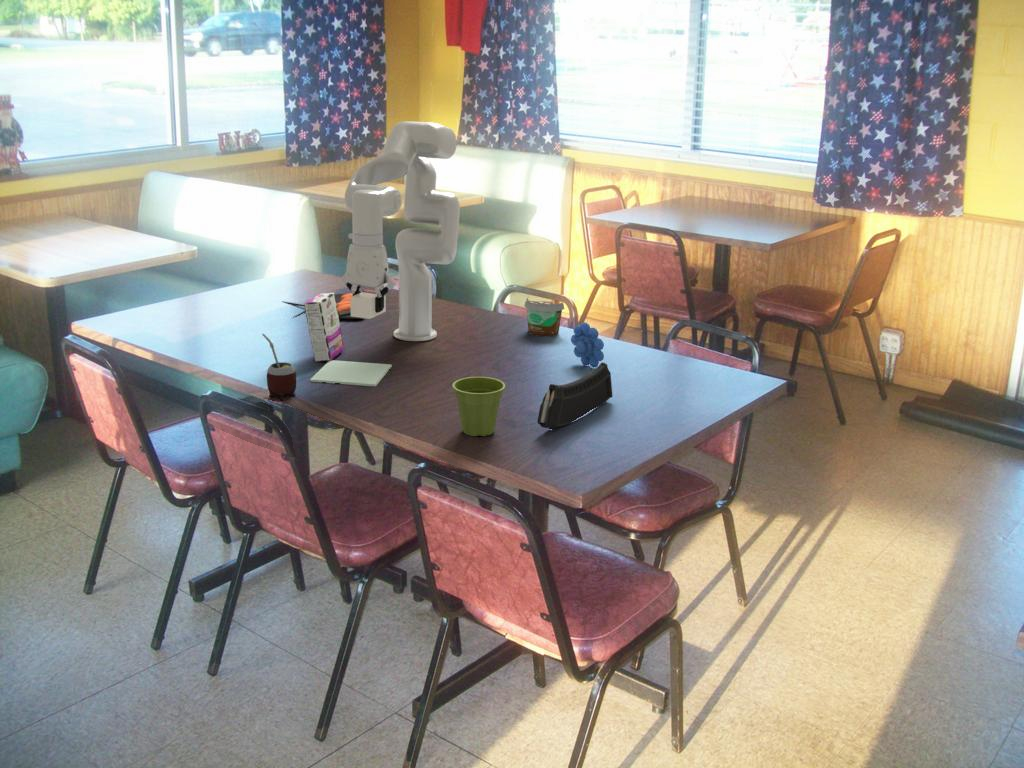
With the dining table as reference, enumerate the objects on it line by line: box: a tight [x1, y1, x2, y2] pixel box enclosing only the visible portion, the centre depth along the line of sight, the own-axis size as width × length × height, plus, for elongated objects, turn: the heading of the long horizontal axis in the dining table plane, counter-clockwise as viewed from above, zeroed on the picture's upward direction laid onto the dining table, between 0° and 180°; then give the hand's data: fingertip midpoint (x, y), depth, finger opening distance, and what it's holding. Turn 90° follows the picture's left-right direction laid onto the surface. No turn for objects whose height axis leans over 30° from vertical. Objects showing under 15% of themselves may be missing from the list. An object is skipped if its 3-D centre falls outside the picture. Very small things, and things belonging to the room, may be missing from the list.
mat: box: [309, 359, 393, 387], centre depth 284 cm, size 17×17×1 cm
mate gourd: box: [261, 333, 297, 402], centre depth 263 cm, size 8×8×15 cm
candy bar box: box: [303, 292, 345, 362], centre depth 295 cm, size 11×5×16 cm, turn 169°
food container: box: [523, 297, 565, 337], centre depth 324 cm, size 12×6×10 cm, turn 68°
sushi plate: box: [281, 292, 361, 320], centre depth 346 cm, size 29×30×4 cm
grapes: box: [570, 321, 605, 368], centre depth 295 cm, size 12×7×12 cm, turn 44°
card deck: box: [350, 289, 387, 320], centre depth 278 cm, size 6×8×5 cm, turn 159°
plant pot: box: [451, 376, 506, 437], centre depth 245 cm, size 12×12×11 cm
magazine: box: [537, 362, 614, 431], centre depth 257 cm, size 17×3×30 cm
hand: (368, 309), depth 278 cm, fingers closed on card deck, 5 cm apart
